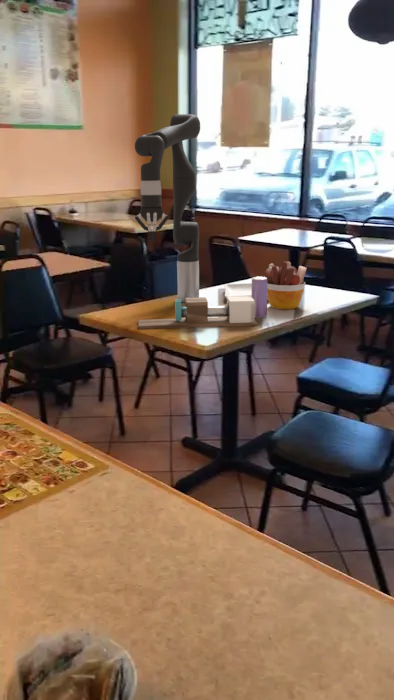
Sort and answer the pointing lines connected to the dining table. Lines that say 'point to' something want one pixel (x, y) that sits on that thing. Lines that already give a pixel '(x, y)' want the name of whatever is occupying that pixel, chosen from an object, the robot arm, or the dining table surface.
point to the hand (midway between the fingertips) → (152, 241)
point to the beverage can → (260, 296)
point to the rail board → (191, 318)
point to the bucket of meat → (285, 285)
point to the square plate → (238, 290)
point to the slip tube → (212, 311)
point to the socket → (241, 309)
